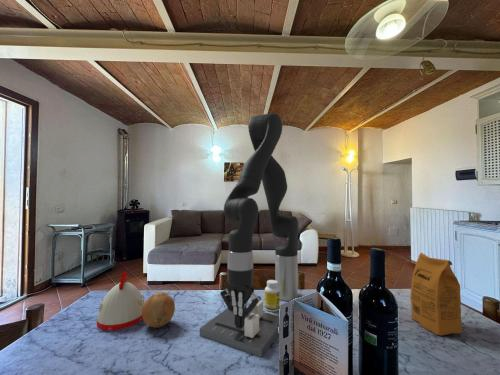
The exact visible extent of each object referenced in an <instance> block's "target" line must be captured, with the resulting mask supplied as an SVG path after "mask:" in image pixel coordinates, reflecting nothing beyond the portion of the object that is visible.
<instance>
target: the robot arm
mask: <svg viewBox="0 0 500 375" xmlns="http://www.w3.org/2000/svg"><path fill="white" fill-rule="evenodd" d="M247 124H248V126H247V127H248V128H247V129H248V135H249V138H250V141H251V144H252V147H253V150H254V152H253V153H251V155H250V156H249V158H248V159H247V160H246V161H245V162H244V164H243V166H242V168H241V172H240V174H239V177H238V180H237V182H236V184H235V186H234V187H233V188H232V190H231V191H230V193H229V195H228V196H227V198H226V199H225V202H224V205H223V214H224V217H225V218H226V219H227V220H228V221H231V222H239V227H238V229H237V228H236V229H233V230H230V232H229V233H228V253H227V262H226V264H227V269H226V271H227V280H226V281H227V286H226V288H225V289H223V290H221V291H220V296H221V298H222V300H223V302H224V303H225V306H226V308H228V309H229V311H233V312H234V314H235V325H236V328H239V329H241V328H242V327H243V326H244V325H245V315H248V314H249V313H250V312H251V311H252V310H253V309H254V307H255V306H256V305H257V304H258V303H259V301H260V300H261V301H262V297H261V296H260V295H257V294H256V293H255V288H254V285H253V283H254V255H253V237H254V233H255V228H256V224H257V222H258V218H259V206H258V203H257V202H256V200H255V199H253V198H251V196H254V195H257V193H258V192H259V191H260V188H261V184H262V187H263V190H264V194H265V198H266V202H267V208H268V215H269V221H270V223H269V224H270V228H271V229H270V230H271V232H272V235H273V236H274V237H276V238H282V239H287V242H286V243H284V244H281V245H279V246H275V248H274V249H275V251H274V253H275V254H274V258H275V261H274V262H275V264H274V265H275V267H274V270H275V273H274V276H275V277H274V278H275V279H274V280H276V281H277V282H278V286H277V287H278V288H279V291H280V299H279V301H285V302H287V301H288V302H292V301H291V300H293V299H295V298H297V299H298V297H299V286H298V284H299V282H298V279H299V277H298V275H299V274H298V273H299V271H298V269H299V265H298V264H299V263H298V262H299V261H298V258H299V256H298V254H299V253H298V252H299V251H298V248H299V228H300V227H299V220H298V218H297V217H296V216H295V215H294V216H293V215H281V214H280V206H281V204H282V202H283V200H284V198H285V195H286V193H287V191H288V182H287V181H288V180H287V178H286V177H287V176H286V172H285V170H284V169H283V168H284V167H282V166H281V165H280V163H279V162H278V161H277V160H276V158H275V157H274V156H273V153H274V152H275V149H276V148H277V147H276V146H277V145H278V143H279V140H280V138H281V135H282V133H283V121H282V118H281V117H280V115H279V114H278V113H275V112H270V113H265V114H259V115H254V116H251V117H249V121H248V123H247ZM249 300H250V304H249V305H248V303H249V302H248V301H249ZM293 301H294V300H293ZM247 306H248V307H247Z"/></svg>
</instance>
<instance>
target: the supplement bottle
mask: <svg viewBox="0 0 500 375" xmlns="http://www.w3.org/2000/svg"><path fill="white" fill-rule="evenodd" d="M277 286H278V282H277V281H276V280H275V279H269V280H267V281H266V287H264V309H265V311H268V312H272V313H275V312H278V311H280V291H279V288H278V287H277Z"/></svg>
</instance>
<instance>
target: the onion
mask: <svg viewBox="0 0 500 375" xmlns="http://www.w3.org/2000/svg"><path fill="white" fill-rule="evenodd" d="M175 311H176V303H175V301H174V298H173V297H172V296H171V295H169V294H168V293H166V292H164V291H163V292H157V293H156V292H155V293H154V294H153V293H152V294H151V295H150V296H148V297H147V299H146V300H144V305H143V308H142V318H143V319H142V320H143V322H144V324H145V325H146V326H148V327H151V328H153V329H154V328H162V327H164V326H166V324H168V323H169V322H170V321H171V320H172V318H173V317H174V315H175Z"/></svg>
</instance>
